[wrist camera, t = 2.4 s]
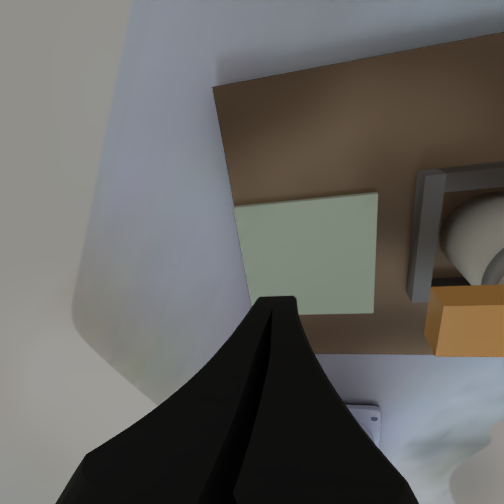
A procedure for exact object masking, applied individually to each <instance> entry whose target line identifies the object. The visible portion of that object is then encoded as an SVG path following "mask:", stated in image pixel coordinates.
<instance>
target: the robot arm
mask: <svg viewBox="0 0 504 504" xmlns="http://www.w3.org/2000/svg"><path fill="white" fill-rule="evenodd" d="M381 415H382V414H381V410H380V408H379V407H377V406H368V405H345V403H344V402H343V401H342V399H341V398H340V396H339V395H338V393H337V392H336V390H335V389H334V387H333V386H332V384H331V382H330V381H329V379H328V377H327V376H326V374H325V372H324V371H323V369H322V367H321V365H320V363H319V362H318V360H317V358H316V356H315V354H314V352H313V350H312V348H311V346H310V343H309V341H308V339H307V336H306V334H305V331H304V329H303V326H302V324H301V321H300V317H299V314H298V307H297V298H296V297H294V296H265V297H259V298H258V299H257V300H256V302H255V303H254V305H253V306H252V308H251V309H250V311H249V312H248V313H247V315H246V316H245V318H244V319H243V321H242V322H241V323H240V325H239V326H238V327H237V328H236V330H235V331H234V332H233V334H232V335H231V336H230V338H229V339H228V340H227V341H226V342H225V343H224V345H223V346H222V347H221V348H220V349H219V350H218V352H217V353H216V354H215V355H214V356H213V357H212V358H211V359H210V360H209V362H208V363H207V364H206V365H205V366H204V367H203V368H202V369H201V370H200V371H199V372H198V373H197V374H196V375H195V376H193V377H192V378H191V379H190V380H189V381H188V382H187V383H186V384H185V385H183V386H182V387H181V388H180V389H179V390H178V391H176V392H175V393H174V394H173V395H172V396H170V397H169V398H168V399H167V400H166V401H164V402H163V403H162V404H160V405H159V406H158V407H157V408H155V409H154V410H153V411H152V412H150V413H148V414H147V415H146V416H144V417H143V418H142V419H140V420H139V421H137V422H136V423H134V424H133V425H132V426H130V427H129V428H127V429H126V430H124V431H123V432H121V433H119V434H118V435H116V436H115V437H113V438H112V439H110V440H109V441H107V442H105V443H104V444H102V445H101V446H99V447H98V448H96V449H94V450H93V451H91V452H89V453H88V454H86V456H85V457H84V459H83V460H82V462H81V463H80V465H79V466H78V468H77V469H76V471H75V472H74V474H73V476H72V477H71V479H70V481H69V482H68V484H67V486H66V487H65V489H64V490H63V492H62V494H61V495H60V497H59V499H58V500H57V502H56V504H419V503H418V501H417V499H416V497H415V495H414V493H413V491H412V490H411V488H410V486H409V484H408V482H407V481H406V480H405V478H404V477H403V476H402V475H401V474H400V473H399V472H398V470H397V469H396V468H395V467H394V466H393V465H392V464H391V462H390V461H389V460H388V459H387V458H386V457H385V455H384V454H383V453H382V452H381V451H380V449H379V445H380V430H381Z"/></svg>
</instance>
